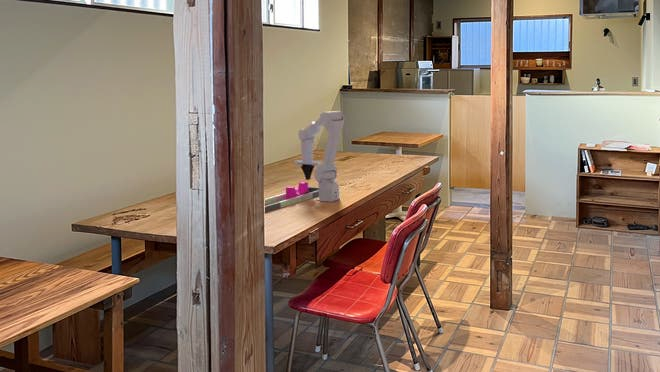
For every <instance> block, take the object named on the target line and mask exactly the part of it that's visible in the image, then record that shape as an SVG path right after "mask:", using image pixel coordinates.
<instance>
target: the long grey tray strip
mask: <svg viewBox="0 0 660 372" xmlns="http://www.w3.org/2000/svg"><path fill="white" fill-rule="evenodd" d="M317 197H319V186H317V187H316V186H308V193H307V194H304V195H300V196H297V197H293V198H290V199H287V200H286V192H285V193H281V194H277V195H274V196H271V197H267V198H264V199H265V204H266V205H264V206H265V212H264V213H268V212H271V211H274V210H277V209H281V208H284V207H288V206H291V205H293V204H296V203H300V202H303V201H306V200H310V199H313V198H317Z"/></svg>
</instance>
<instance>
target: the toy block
mask: <svg viewBox="0 0 660 372" xmlns="http://www.w3.org/2000/svg"><path fill="white" fill-rule="evenodd" d="M308 187H309V182H306V181H305V182H303V181H301V182H299V183H298V187H295V186H286V187H285V193H286V199H285V200H287V199H290V198H293V197H297V196H300V195H304V194H307V193H308Z"/></svg>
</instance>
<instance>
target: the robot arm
mask: <svg viewBox="0 0 660 372" xmlns="http://www.w3.org/2000/svg"><path fill="white" fill-rule="evenodd" d="M345 119H346V118H345V115H344V113H343V111H342V110H334V111H322V113H320V116H319V117H318V119H316V121H310V122H309V124H308V125H306V126H305V127H304V128H300V129H299V130H298V139H299V140H300V148H301V149H300V150H301V151H300V153H301V155H300V156H301V160H299V159H298V160H296V159H295V160H294V165H300V168H301V170H302V172H303V174H304V177H305V180H306V181H309V180H311V177H312V173H313V170H314V169H315V167H316V169H315V171H314V173H313V175H314V179H315V181H317V182H316V183H318V187H319V196H318V198H315V199H314V200H315V201H319V202H329V203H330V202H331V203H333V202H335V201H339V200H340V199H341V197H340V186H339V183H338V182H335V181H336V179H337V176H338V167H337V166H336V164H335V161H336V156H337V152H338V148H339V145H340V140H341V137H342V130H343V129H344V123H345ZM322 127H323V128H324V129H325V132H327V133H329V134H328V138H327V141H326V142H327V143H326V147H325V150H324V154H323V158H322V161H317V160H314V147H313V144H314V139H315V137H316V135H317V134H318V133H319V132H320V131H321V128H322Z"/></svg>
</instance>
